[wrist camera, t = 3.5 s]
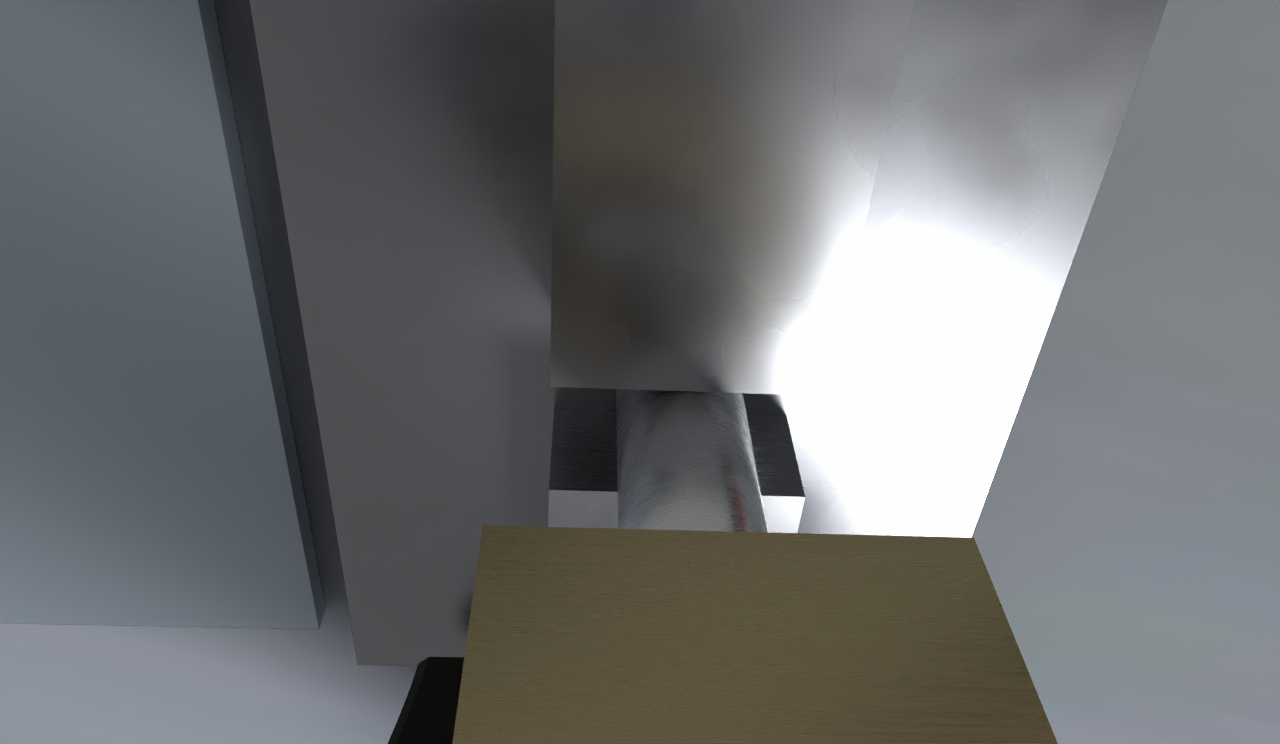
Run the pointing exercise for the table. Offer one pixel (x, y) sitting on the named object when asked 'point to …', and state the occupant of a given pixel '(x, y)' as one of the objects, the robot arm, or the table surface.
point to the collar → (739, 641)
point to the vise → (673, 262)
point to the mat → (137, 335)
